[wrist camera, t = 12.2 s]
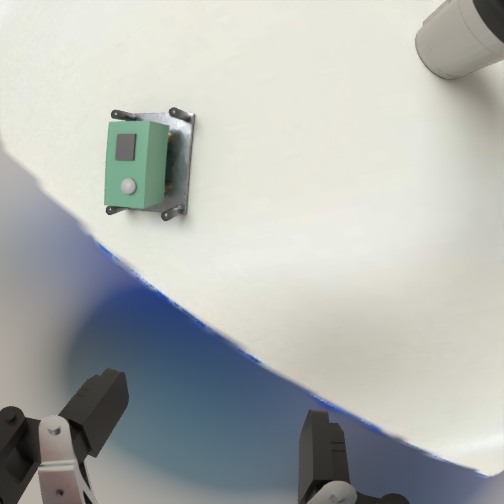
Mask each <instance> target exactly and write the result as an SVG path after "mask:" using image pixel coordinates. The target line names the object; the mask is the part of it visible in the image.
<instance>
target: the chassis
mask: <svg viewBox="0 0 504 504" xmlns="http://www.w3.org/2000/svg"><path fill="white" fill-rule="evenodd" d="M111 117H112V118H114V119H119V120H125V121H153V122H157V123H161V124H165V125H169V134H168V145H167V156H166V169H165V183H164V201H163V202H161V203H158V204H156V205H153V206H150V207H147V208H145V209H140V208H130V207H119V206H108V207H107V208H106V213H107V214H108V215H112V214H115V213H117V212H120V211H123V210H126V209H133V210H143V211H154V212H163V213H162V214H161V218H162V219H163V220H164V221H168V220H170V219H172V218H173V217H175V216H177V215H179V214H183V215H185V214H186V213H187V199H188V185H189V171H190V159H191V148H192V137H193V127H194V118H195V114H193V113H186V112H184V111H182V110H179V109H177V108H171V109H170V110H169V113H141V114H132V113H128V112H124V111H120V110H113V111H112V113H111Z"/></svg>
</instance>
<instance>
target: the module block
mask: <svg viewBox="0 0 504 504" xmlns="http://www.w3.org/2000/svg"><path fill="white" fill-rule="evenodd" d="M168 134H169V125H165V124H161V123H157V122H153V121H120V122H109V128H108V139H107V151H106V168H105V197H104V205H108V206H119V207H130V208H140V209H145V208H147V207H150V206H153V205H156V204H158V203H161V202H163V201H164V183H165V169H166V156H167V145H168Z"/></svg>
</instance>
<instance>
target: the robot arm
mask: <svg viewBox="0 0 504 504" xmlns="http://www.w3.org/2000/svg"><path fill="white" fill-rule="evenodd" d="M423 24H424V25H423V27H422V28H421V29H420V30H419V31H418V33H417V35H416V48H417V51H418V54H419V56H420V58H421V59H422V61H423V63H424V64H425V65H426V66H427V67H428V68H429V69H430V70H431V71H432V72H433V73H435V74H436V75H438V76H440V77H442V78H446V79H456V78H459V77H462V76H464V75H466V74H469V73H472V72H474V71H476V70H479V69H481V68H484V67H486V66H489V65H491V64H494V63H497V62H499V61H502V60H504V0H446V1H445V2H444V3H443V4H442V5H441V6H439V7H438V8H437V9H436V10H435V11H434V12H433V13H432V14H431V15H430V16H429V17H428V18H427V19H426V20H425V21H424V22H423ZM128 401H129V395H128V388H127V382H126V376H125V373H124V372H121V371H119V370H115V369H112V368H107V369H106V370H105V371H104V372H103V374H102V375H101V376H99V375H95V376H93V377H91V378H90V379H88V380H87V381H86V382H85V383H84V384H83V385H82V387H81V389H79V390H78V391H77V393H76V395H74V396H73V398H72V399H71V400H70V401H69V403H68V404H67V405H66V406H65V407H64V409H63V410H62V411H61V413H60V414H59V415H58V416H56V415H52V416H48V417H46V418H44V419H43V420H36V419H32V418H27V417H25V416H24V414H23V412H22V411H21V410H20V409H19V408H17V407H14V406H9V407H5V408H3V409H2V410H1V411H0V504H17V503H18V501H19V499H20V498H21V496H22V494H23V493H24V491H25V489H26V487H27V486H28V484H29V482H30V481H31V479H32V477H33V475H34V474H35V472H36V471H37V469H38V475H39V482H40V489H41V495H42V500H43V504H98V503H97V500H96V498H95V496H94V493H93V490H92V486H91V482H90V479H89V475H88V471H87V467H86V463H85V458H86V456H87V455H90V456H93V457H95V458H96V457H97V455H98V454H99V452H100V450H101V449H102V447H103V445H104V444H105V442H106V440H107V439H108V437H109V436H110V434H111V432H112V430H113V429H114V427H115V426H116V424H117V422H118V421H119V419H120V417H121V416H122V414H123V413H124V411H125V409H126V408H127V405H128ZM41 463H42V465H40V464H41ZM298 504H409V501H408V500H407V499H406V498H405V497H404V496H402V495H400V494H395V493H392V494H387V495H385V496H383V497H382V498H381V499H380V498H375V497H371V496H367V495H363V494H361V493H359V492H357V491H356V490H355V488H354V487H353V486H352V485H351V483H350V479H349V472H348V463H347V454H346V446H345V439H344V432H343V431H342V430H341V428H340V426H339V425H338V423H329V417H328V412H327V411H322V410H309V412H308V415H307V417H306V420H305V423H304V426H303V428H302V431H301V435H300V441H299V483H298Z"/></svg>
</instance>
